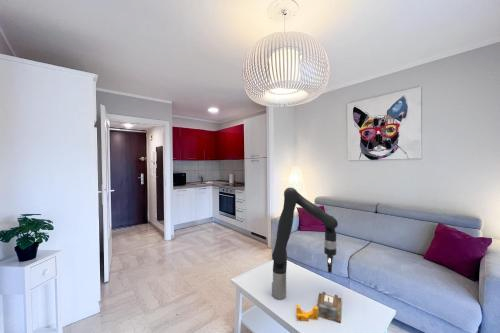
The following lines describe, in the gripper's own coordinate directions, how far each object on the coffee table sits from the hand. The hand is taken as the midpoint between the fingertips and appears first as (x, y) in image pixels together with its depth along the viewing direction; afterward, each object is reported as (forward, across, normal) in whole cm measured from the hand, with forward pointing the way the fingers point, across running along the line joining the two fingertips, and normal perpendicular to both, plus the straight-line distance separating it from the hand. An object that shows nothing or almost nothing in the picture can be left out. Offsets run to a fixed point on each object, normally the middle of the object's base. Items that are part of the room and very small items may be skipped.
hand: (329, 272), depth 141 cm
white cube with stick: (+17, +11, 0) cm, 21 cm away
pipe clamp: (+19, +23, -11) cm, 32 cm away
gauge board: (+19, +8, 0) cm, 20 cm away
